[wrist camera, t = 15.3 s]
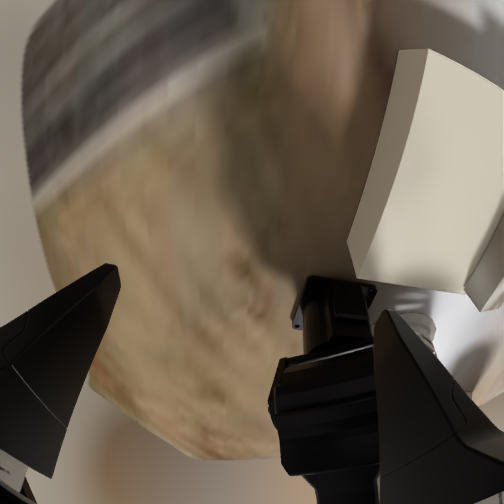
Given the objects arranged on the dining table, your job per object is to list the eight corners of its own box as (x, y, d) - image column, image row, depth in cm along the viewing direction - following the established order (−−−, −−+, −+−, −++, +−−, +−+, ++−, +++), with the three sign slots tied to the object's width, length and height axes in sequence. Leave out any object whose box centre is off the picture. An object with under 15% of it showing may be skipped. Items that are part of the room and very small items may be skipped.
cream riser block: (445, 260, 23) (464, 294, 19) (346, 241, 23) (356, 278, 19) (505, 103, 14) (542, 118, 11) (399, 49, 14) (428, 48, 11)
